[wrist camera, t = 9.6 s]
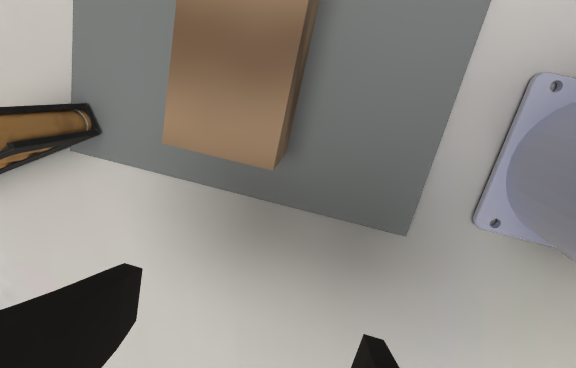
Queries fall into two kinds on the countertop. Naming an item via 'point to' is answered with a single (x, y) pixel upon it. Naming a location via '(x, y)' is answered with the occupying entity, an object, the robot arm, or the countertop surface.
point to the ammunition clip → (41, 131)
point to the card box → (237, 77)
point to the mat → (310, 106)
